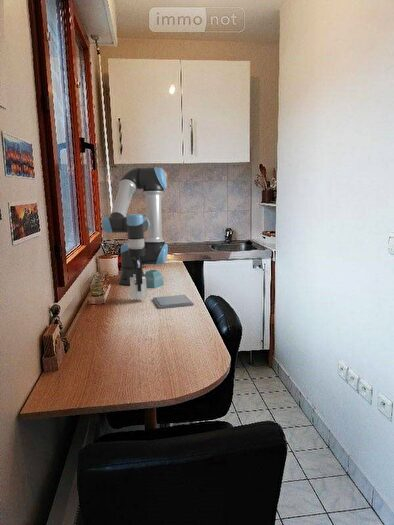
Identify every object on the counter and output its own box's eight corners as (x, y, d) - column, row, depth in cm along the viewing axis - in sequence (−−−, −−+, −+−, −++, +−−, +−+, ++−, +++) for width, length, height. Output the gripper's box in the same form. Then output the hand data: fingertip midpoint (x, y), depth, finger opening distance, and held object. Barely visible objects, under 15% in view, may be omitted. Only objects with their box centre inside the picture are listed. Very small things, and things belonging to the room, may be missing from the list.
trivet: (152, 299, 183) (152, 296, 183) (184, 296, 187) (184, 294, 187) (159, 308, 168) (158, 306, 168) (193, 305, 172) (193, 302, 172)
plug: (130, 295, 181) (129, 273, 179) (145, 294, 183) (144, 272, 181) (132, 298, 177) (130, 276, 175) (146, 297, 179) (145, 275, 177)
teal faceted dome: (163, 269, 210) (164, 285, 211) (151, 268, 214) (151, 283, 216) (154, 272, 202) (154, 288, 204) (141, 271, 207) (141, 287, 209)
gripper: (126, 245, 183) (128, 291, 187) (130, 251, 166) (133, 302, 171) (141, 244, 185) (143, 290, 190) (147, 250, 168) (149, 300, 173)
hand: (138, 295), depth 180 cm, fingers closed on plug, 5 cm apart
